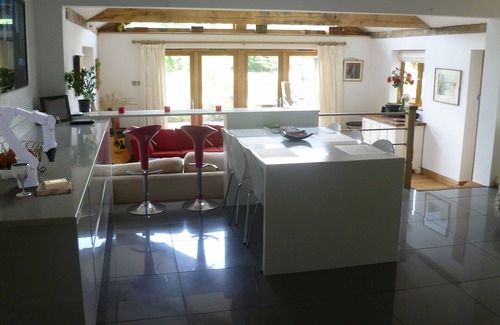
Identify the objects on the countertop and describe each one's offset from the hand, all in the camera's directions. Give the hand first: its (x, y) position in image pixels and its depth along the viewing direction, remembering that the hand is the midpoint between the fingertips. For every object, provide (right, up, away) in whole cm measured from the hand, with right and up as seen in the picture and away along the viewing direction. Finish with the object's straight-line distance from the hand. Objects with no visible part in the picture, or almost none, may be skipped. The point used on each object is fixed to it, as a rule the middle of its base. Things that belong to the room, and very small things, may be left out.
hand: (51, 161), depth 265 cm
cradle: (+9, -14, -18) cm, 24 cm away
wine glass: (-3, -16, -26) cm, 30 cm away
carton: (+10, -15, -19) cm, 26 cm away
